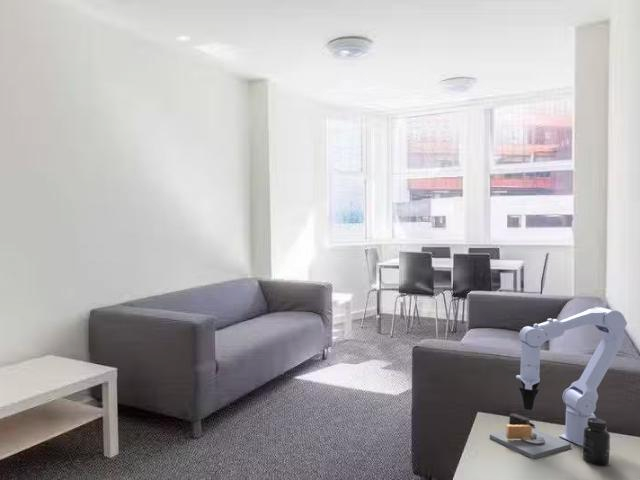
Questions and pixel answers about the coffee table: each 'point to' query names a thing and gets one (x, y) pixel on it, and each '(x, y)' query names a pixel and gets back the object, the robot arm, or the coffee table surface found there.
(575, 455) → the coffee table surface
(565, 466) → the coffee table surface
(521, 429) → the orange block with disc
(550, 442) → the board
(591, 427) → the supplement bottle
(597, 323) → the robot arm
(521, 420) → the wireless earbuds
